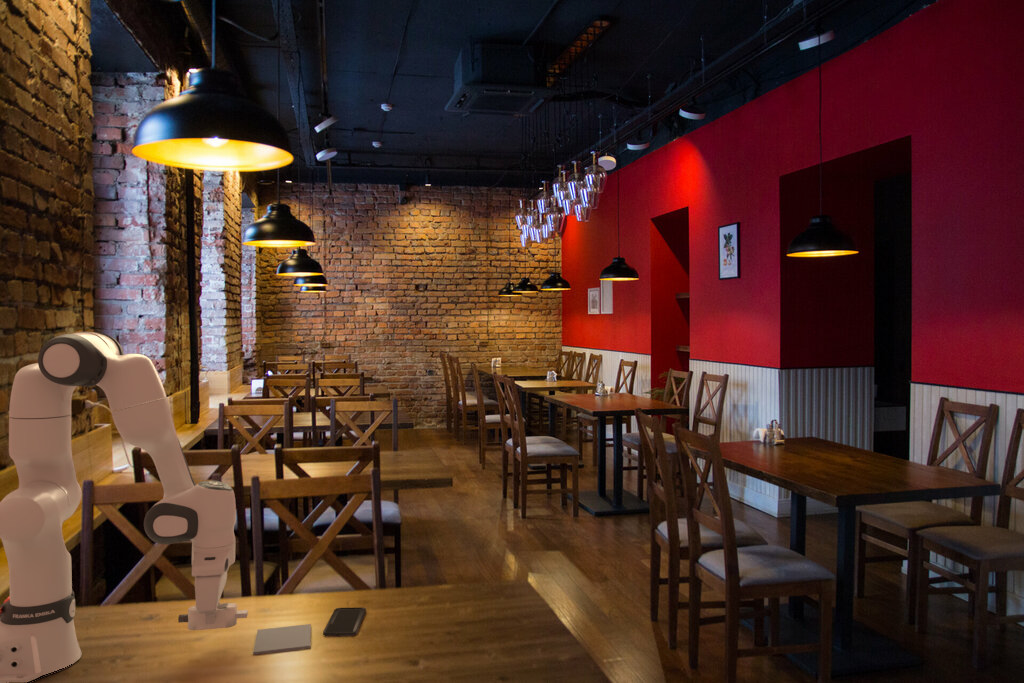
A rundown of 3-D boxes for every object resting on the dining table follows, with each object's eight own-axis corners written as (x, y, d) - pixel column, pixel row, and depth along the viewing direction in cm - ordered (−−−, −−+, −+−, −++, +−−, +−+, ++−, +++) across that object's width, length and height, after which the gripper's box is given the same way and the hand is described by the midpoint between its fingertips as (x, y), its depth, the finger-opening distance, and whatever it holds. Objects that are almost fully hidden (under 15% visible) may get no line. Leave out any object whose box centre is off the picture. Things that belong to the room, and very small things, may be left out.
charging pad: (253, 654, 156) (253, 652, 156) (257, 632, 168) (257, 629, 167) (310, 648, 159) (310, 645, 159) (310, 626, 171) (310, 623, 171)
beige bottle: (177, 631, 154) (177, 613, 154) (180, 624, 158) (180, 606, 157) (246, 626, 157) (246, 608, 157) (247, 619, 161) (248, 601, 161)
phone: (366, 607, 180) (355, 632, 165) (366, 611, 180) (355, 637, 165) (335, 607, 180) (321, 633, 165) (335, 612, 180) (321, 638, 165)
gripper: (205, 542, 166) (204, 601, 167) (190, 571, 147) (188, 638, 147) (234, 540, 168) (233, 599, 168) (223, 569, 148) (221, 635, 148)
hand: (212, 617), depth 157 cm, fingers closed on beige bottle, 4 cm apart
